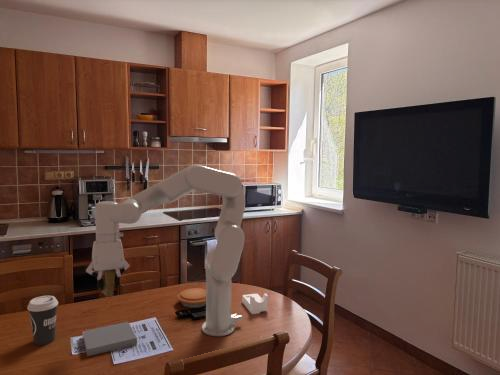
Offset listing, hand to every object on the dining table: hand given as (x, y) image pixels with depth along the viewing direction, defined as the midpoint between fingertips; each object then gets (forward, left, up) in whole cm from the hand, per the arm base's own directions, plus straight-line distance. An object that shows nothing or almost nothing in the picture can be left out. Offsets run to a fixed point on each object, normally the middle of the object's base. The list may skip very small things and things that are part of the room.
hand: (108, 287), depth 131 cm
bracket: (-60, -1, -20) cm, 63 cm away
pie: (-39, -17, -20) cm, 47 cm away
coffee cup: (+20, -11, -20) cm, 30 cm away
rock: (0, 0, -2) cm, 2 cm away
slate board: (0, 0, -20) cm, 20 cm away
